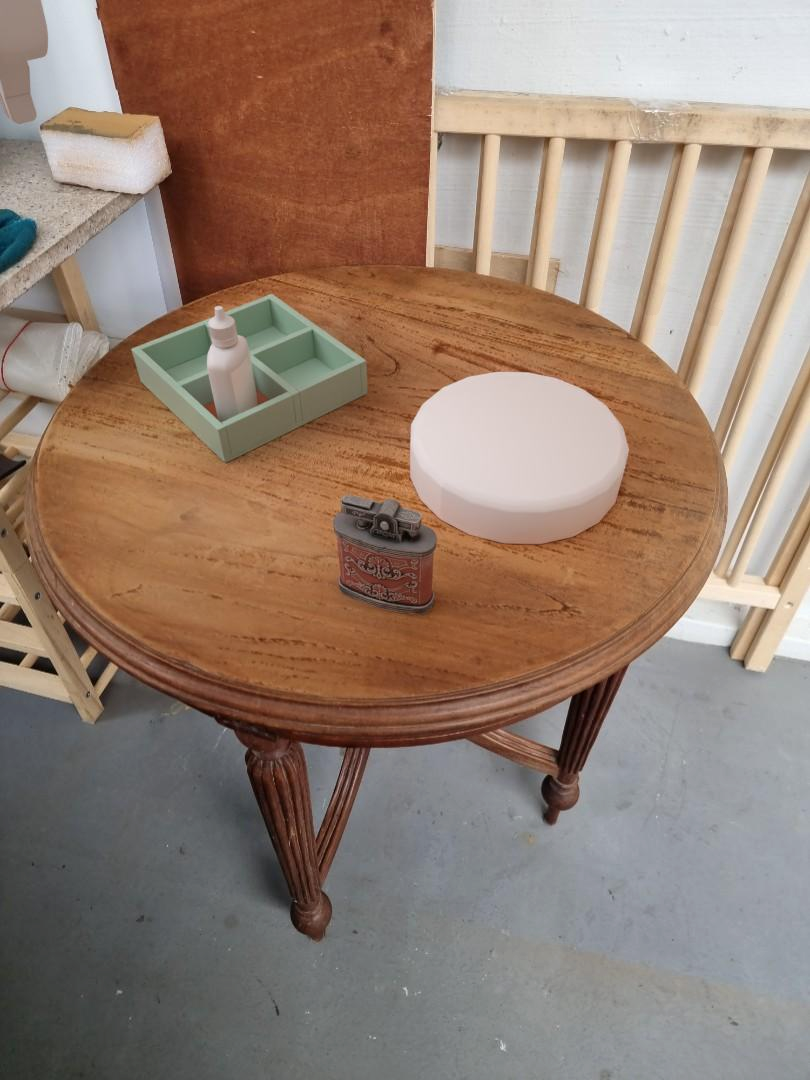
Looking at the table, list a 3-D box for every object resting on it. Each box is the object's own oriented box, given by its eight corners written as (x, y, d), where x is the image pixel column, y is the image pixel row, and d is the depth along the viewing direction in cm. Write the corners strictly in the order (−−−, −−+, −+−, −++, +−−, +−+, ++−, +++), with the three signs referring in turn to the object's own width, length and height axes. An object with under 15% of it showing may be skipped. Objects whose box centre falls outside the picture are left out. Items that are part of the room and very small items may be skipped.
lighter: (439, 590, 64) (443, 502, 56) (426, 621, 61) (429, 534, 54) (348, 565, 65) (341, 477, 58) (332, 595, 63) (323, 507, 56)
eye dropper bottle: (274, 410, 79) (258, 303, 70) (233, 438, 76) (210, 329, 67) (245, 394, 81) (226, 287, 72) (203, 420, 78) (178, 312, 69)
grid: (225, 463, 74) (217, 429, 71) (140, 381, 83) (130, 348, 80) (367, 393, 82) (366, 360, 79) (276, 325, 91) (271, 293, 88)
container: (546, 385, 83) (552, 347, 80) (664, 502, 71) (678, 464, 67) (375, 436, 77) (374, 398, 74) (472, 574, 65) (476, 535, 61)
